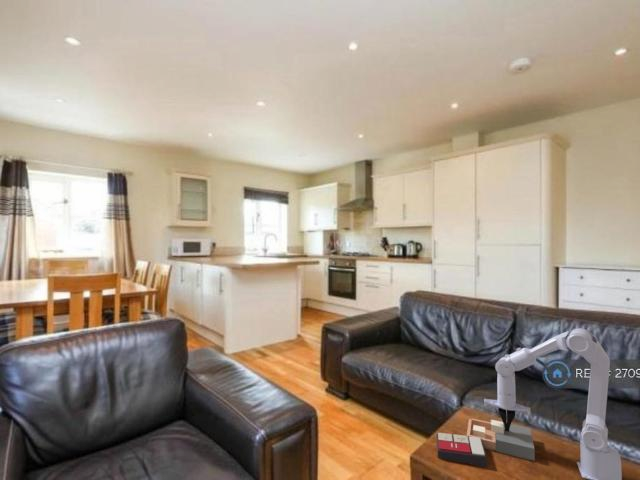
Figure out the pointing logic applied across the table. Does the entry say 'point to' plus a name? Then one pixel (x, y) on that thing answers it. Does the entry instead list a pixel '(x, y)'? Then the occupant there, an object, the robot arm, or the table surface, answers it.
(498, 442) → the grey rectangular block
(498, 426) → the tile
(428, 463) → the table surface
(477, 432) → the tile
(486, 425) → the box
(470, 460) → the calculator
